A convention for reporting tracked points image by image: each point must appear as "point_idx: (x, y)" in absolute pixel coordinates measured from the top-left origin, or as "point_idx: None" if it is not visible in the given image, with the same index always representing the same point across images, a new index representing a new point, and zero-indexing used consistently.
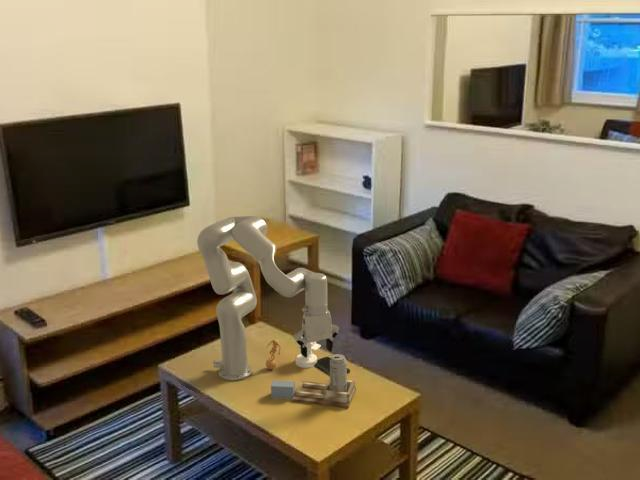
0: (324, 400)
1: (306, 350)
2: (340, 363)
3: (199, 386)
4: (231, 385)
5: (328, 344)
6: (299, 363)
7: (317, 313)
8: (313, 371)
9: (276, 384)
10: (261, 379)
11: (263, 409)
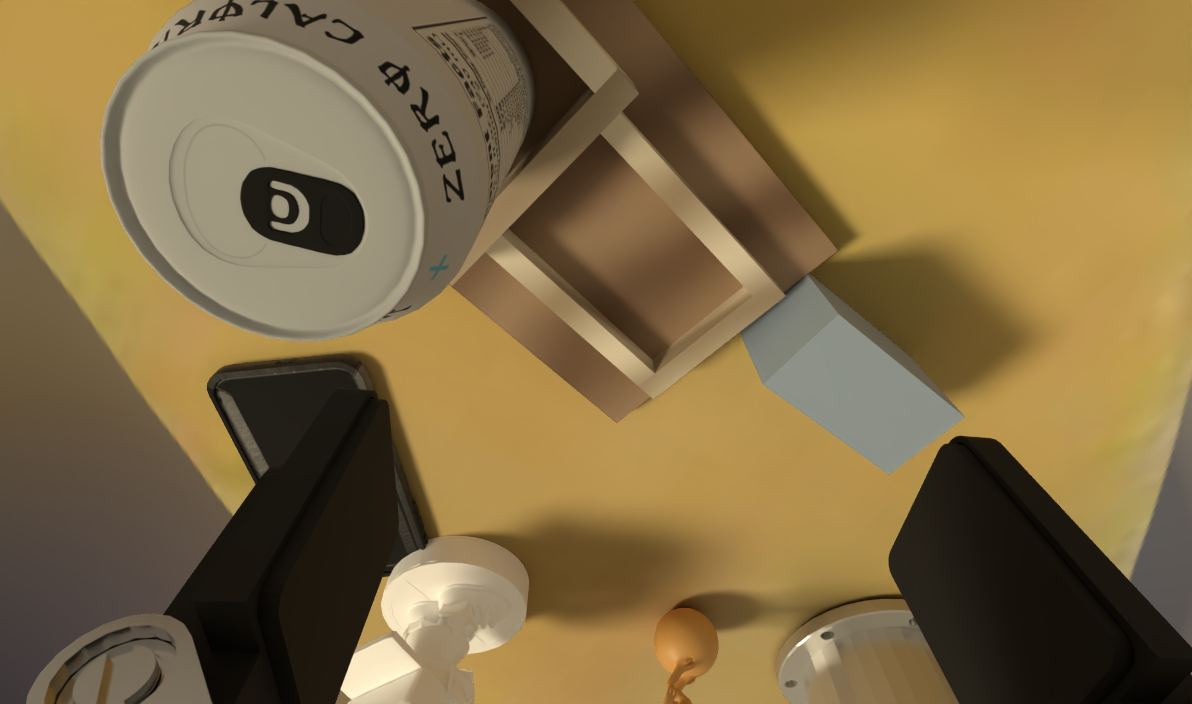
0: (629, 64)
1: (1081, 567)
2: (304, 11)
3: None
4: None
5: (340, 569)
6: (520, 586)
7: None
8: (468, 492)
9: (911, 417)
10: (801, 555)
11: (1071, 258)
